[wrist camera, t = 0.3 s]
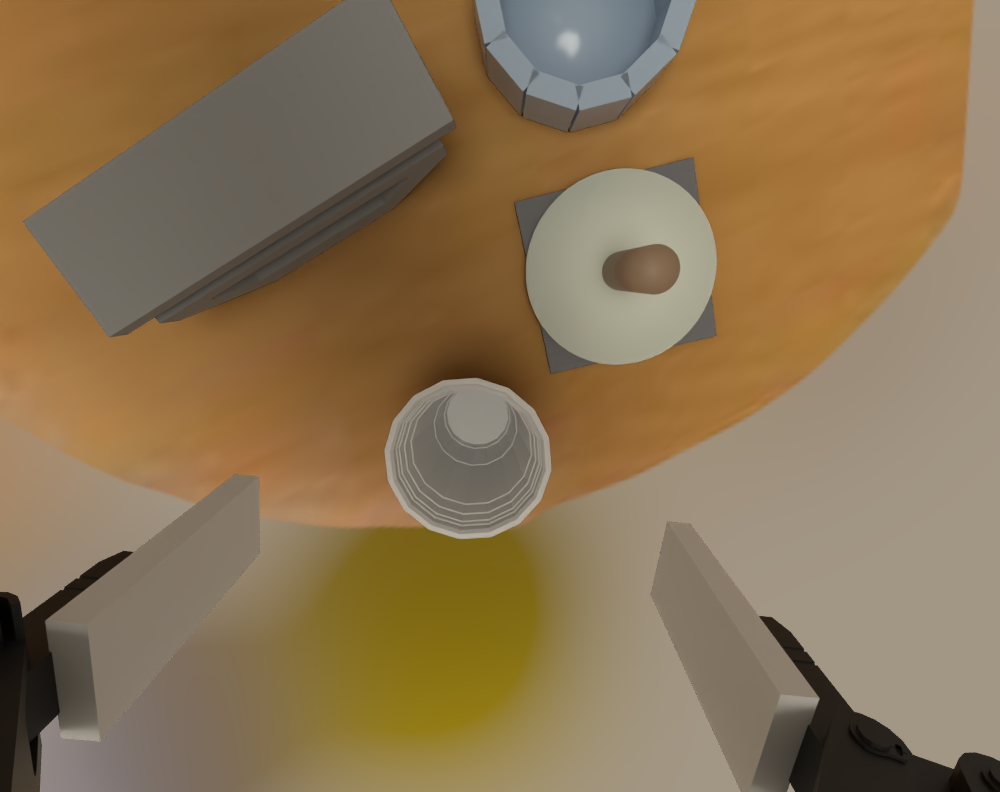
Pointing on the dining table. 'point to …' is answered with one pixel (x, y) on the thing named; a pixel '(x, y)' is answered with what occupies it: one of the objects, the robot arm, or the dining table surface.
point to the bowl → (578, 54)
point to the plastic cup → (468, 458)
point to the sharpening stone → (253, 174)
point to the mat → (535, 209)
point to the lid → (621, 266)
